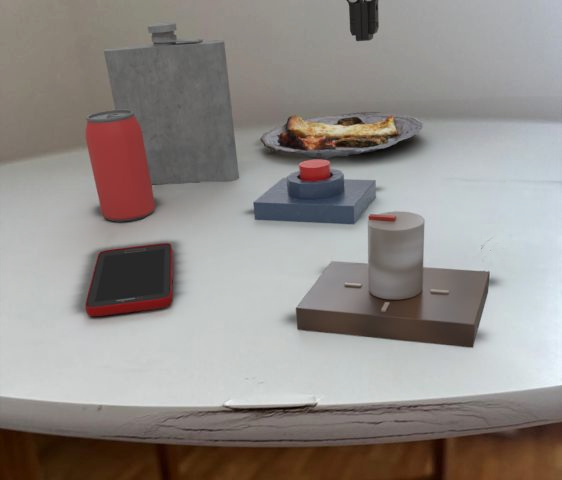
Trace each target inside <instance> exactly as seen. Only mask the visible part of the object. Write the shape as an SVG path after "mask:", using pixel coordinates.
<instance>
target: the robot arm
mask: <svg viewBox="0 0 562 480" xmlns="http://www.w3.org/2000/svg"><path fill="white" fill-rule="evenodd" d="M345 1H346V2H347V4H348V12H349V13H348V14H349V32H350V35H351V36H353V37H354V36H355V42H366V41H371V40H373V39H374V35H375V34H377V33H378V31H379V27H380V25H379V23H380V22H379V21H380V19H379V0H345Z"/></svg>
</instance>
